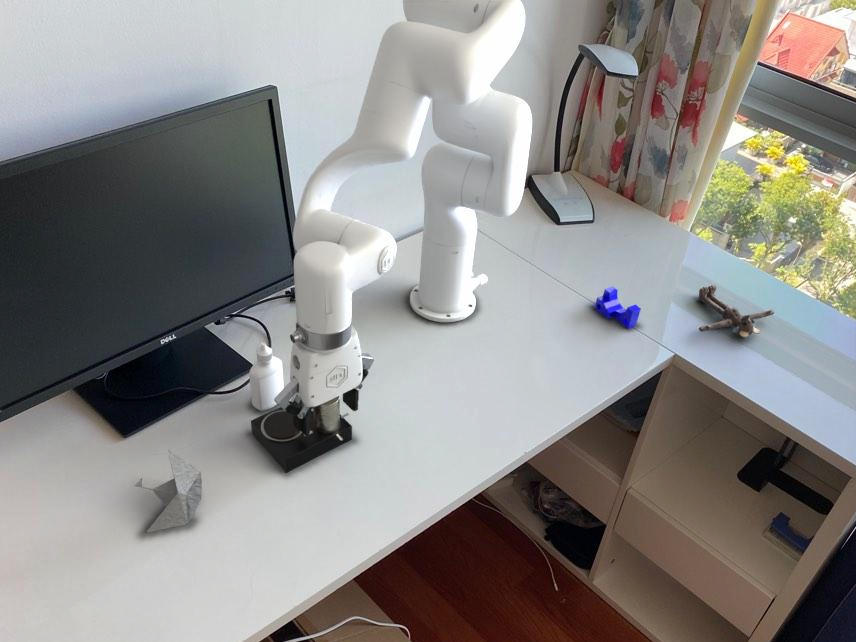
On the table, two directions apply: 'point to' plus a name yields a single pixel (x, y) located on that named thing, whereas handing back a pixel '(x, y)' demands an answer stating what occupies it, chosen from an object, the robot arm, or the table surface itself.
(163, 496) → the origami crane
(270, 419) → the burner
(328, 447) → the hot plate
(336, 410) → the knob
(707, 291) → the brown monkey figure
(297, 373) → the robot arm
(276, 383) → the eye dropper bottle
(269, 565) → the table surface
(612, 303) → the cable holder
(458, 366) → the table surface
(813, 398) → the table surface
